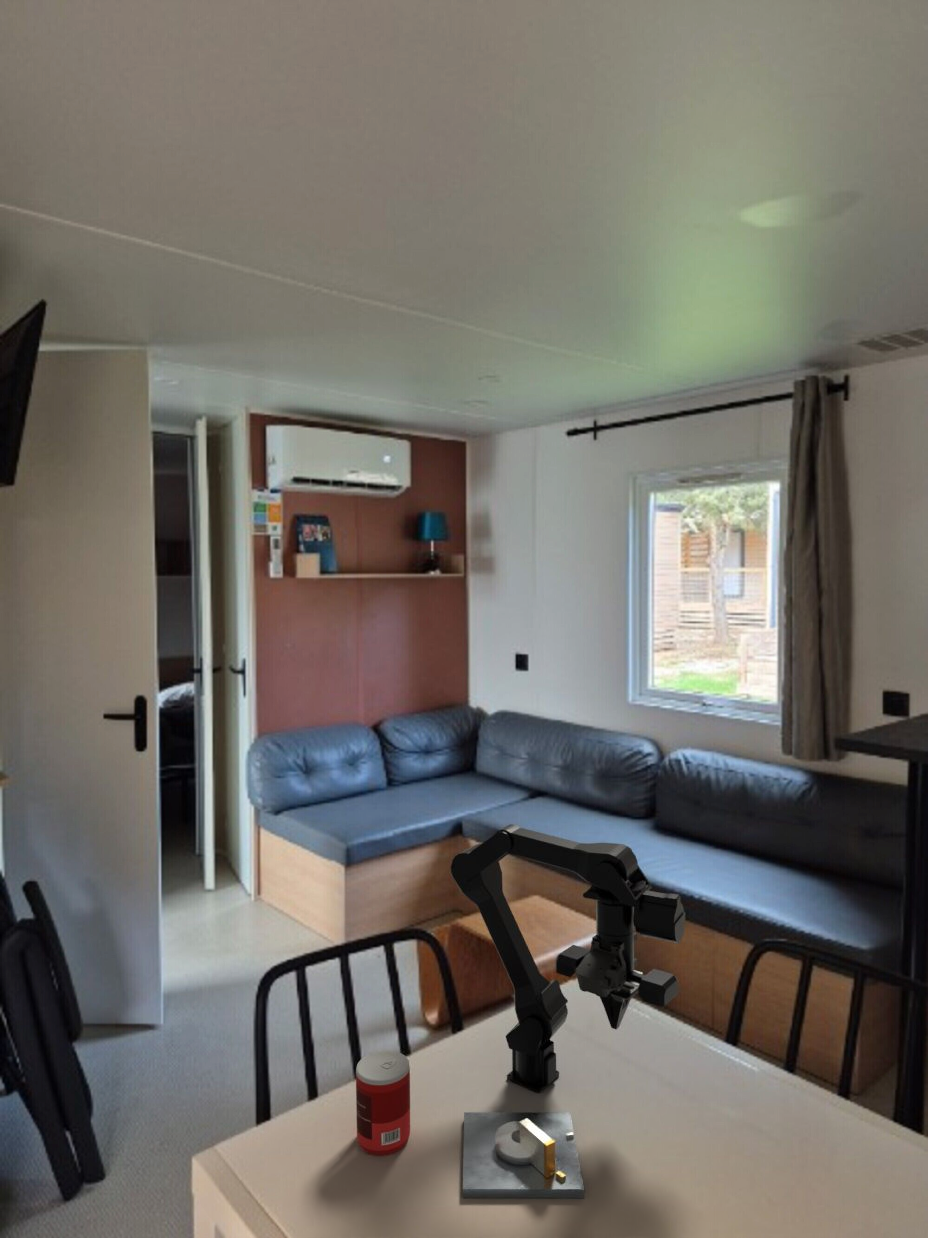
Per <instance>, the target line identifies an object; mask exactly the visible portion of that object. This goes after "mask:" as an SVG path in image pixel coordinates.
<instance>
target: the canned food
mask: <svg viewBox="0 0 928 1238" xmlns="http://www.w3.org/2000/svg"><path fill="white" fill-rule="evenodd" d="M410 1066H411V1065H410V1060H409V1059H408V1057H407V1056H406V1055H405V1054H403V1053H400V1052H398V1051H395V1050H381V1051H375V1052H371V1053H370V1054H367V1055H365V1056H363V1058H361V1059H360V1060H359V1061H358V1063H357V1065H356V1069H355V1096H356V1097H355V1098H356V1099H355V1100H356V1101H355V1102H356V1104H355V1105H356V1106H355V1107H356V1140H357V1142H358V1144H359V1147H360V1148H361V1150H362V1151H364V1152H366V1153H367V1154H370V1155H373V1156H385V1155H387V1156H388V1155H391V1154H393V1153H396V1152H398V1151H399V1150H401V1149H402V1148H404V1146H406V1145H407V1143H408V1140H409V1137H410V1134H411V1072H410V1070H411V1067H410Z"/></svg>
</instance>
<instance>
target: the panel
mask: <svg viewBox="0 0 928 1238" xmlns="http://www.w3.org/2000/svg"><path fill="white" fill-rule="evenodd" d="M526 1118H528V1119H529V1120H530V1121H531V1122H532V1123H533V1124H535V1125H536V1126H537V1127H539V1128H540V1129H541V1130H542V1131H543V1132H544V1133H545V1134H546V1135H547V1136H549V1137H550V1138H551V1139H552V1140H554V1141H555V1174H554V1175H552V1176H550V1177H548V1178H546V1177H545V1176H544V1175H543V1174H542V1173H541V1172H540V1171H539V1170H538V1169H537V1168H536V1167H535V1166H533V1165H532V1164H531V1163H530V1164H525V1165H518V1164H512V1163H509V1162H507V1161H505V1160H503V1159H502V1158H501V1157H500V1156H499V1155H498V1154H497V1152H496V1149H495V1134H496V1132H497V1130H498V1129H499V1128H500V1127H501V1126H502V1125H504V1124H506V1123H509V1122H514V1121H522V1120H524V1119H526ZM575 1138H576V1137H575V1131H574V1126H573V1122H572V1116H571V1112H562V1111H561V1112H558V1111H557V1112H556V1111H555V1112H551V1111H550V1112H540V1111H538V1112H537V1111H536V1112H532V1111H531V1112H526V1111H525V1112H523V1111H522V1112H520V1111H518V1112H517V1111H516V1112H513V1111H512V1112H510V1111H509V1112H507V1111H506V1112H502V1111H501V1112H496V1111H495V1112H494V1111H493V1112H490V1111H489V1112H488V1111H487V1112H485V1111H484V1112H477V1111H476V1112H473V1111H472V1112H469V1111H468V1112H464V1111H463V1150H462V1151H463V1153H462V1154H463V1155H462V1157H463V1160H462V1198H463V1199H585V1185H584V1181H583V1175H582V1171H581V1170H582V1169H581V1166H580V1165H581V1164H580V1160H579V1155H578V1148H577V1144H576V1139H575Z"/></svg>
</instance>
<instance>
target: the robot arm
mask: <svg viewBox="0 0 928 1238" xmlns="http://www.w3.org/2000/svg"><path fill="white" fill-rule="evenodd" d="M509 854H510V855H512V856H513V855H514V856H515V857H520V858H523V859H527V860H531V861H535V862H538V863H541V864H545V865H548V866H553V867H557V868H559V869H563V870H567V871H571V872H573V873H575V874H577V875H578V876H579V877H581V878H582V879H583V880H584V881H585V882H587V883H589V884H590V885H591V886H590V887H589V888H587V890H586V891H584V892H583V893H582V897H583V898H585V899H590V900H595V908H596V909H595V911H596V912H595V915H596V919H595V920H596V921H595V923H596V924H595V926H596V930H595V931H596V932H595V933H596V934H595V935H593V936H592V937H591V938H592V939H591V942H590V943H591V947H590V949H588V948H586V947H582V946H578V945H575V944H572V945H570V946H569V947H568V948H566V949H565V950H563V951H562V952H560V953H558V954H557V956H556V958H555V960H554V967H555V968H554V971H555V973H556V974H559V975H561V976H565V977H569V978H571V977H573V976H574V975H576V979H577V982H578V987H579V989H580V991H581V992H584V993H585V992H587V993H589V994H590V993H591V994H594V995H596V996H597V997H599V998H600V1001H601V1004H602V1005H603V1008H604V1011H605V1014H606V1016H607V1019H608V1022H609V1025H610V1028H611V1029H614V1030H618V1029H619V1028H620V1026H621V1024H622V1021H623V1019H624V1016H625V1014H626V1012H627V1010H628V1007H629V1005H630V1002H631V1000H632V999H633V998H634V996H636V995H637V994H638V996H639V998H640V999H641V1000H642V1002H645V1003H648V1004H650V1005H653V1006H657V1007H665V1006H666V1005H667V1004H669V1002H670V1001H672V1000H673V999H674V998H675V997H676V996H678V995H679V993H680V990H679V989H680V986H679V985H680V982H679V980H678V978H677V976H676V975H675V974H673V973H670V972H666V971H664V970H659V969H656V968H653V969H652V970H650V971H649V972H647V974H643V972H642V971H638V970H637V969H636V970H635V968H637V967H638V964H639V963H638V960H639V959H638V958H636V957H635V951H634V950H635V949H634V948H635V942H636V941H637V940H638V934H639V935H640V936H642V937H645V938H650V939H651V938H652V939H655V940H659V941H664V942H665V941H666V942H669V943H670V942H671V943H675V944H680V943H681V941H682V939H683V937H684V933H685V927H686V912H685V911H684V910H685V909H684V905H683V904H682V902H681V895H680V894H677V893H663V892H657V891H652V890H651V889H652V884H651V882H650V881H649V879H648V878H647V876H646V874H644V872H643V870H642V869H641V867H640V866H639V864H638V859H637V856H636V854H635V853H634V851H633V850H632V848H631V847H630V846H628V845H626V844H624V843H615V842H614V843H613V842H593V843H587V842H586V843H583V842H578V841H574V840H570V839H566V838H563V837H559V836H555V835H550V834H547V833H543V832H539V831H535V830H531V829H527V828H524V827H520V826H519V825H517V824H514V823H513V824H512V823H511V824H510V823H509V824H507V825H505V826H504V827H502V828H499V829H498V830H497V831H496V832H495V833H493V835H492V836H491V837H489V838H488V839H487V840H485V841H484V842H482V843H477V844H474V845H472V846H470V847H469V848H467V849H465V850H463V851H461V852H459V853H458V854H456V855H455V856H454V857H453V859H452V860H451V864H450V866H449V867H450V868H449V869H450V874H451V877H452V878H453V880H454V882H455V883H456V885H457V887H458V888H459V890H460V892H461V893H462V894H463V895H464V896H465V897H466V898H467V899H468V900H470V901H471V902H472V903H473V904H475V905H476V907H477V909H478V911H479V913H480V915H481V918H482V919H483V923H484V924H485V927H486V928H487V931H488V934H489V935H490V938H491V940H492V941H493V944H494V947H495V948H496V951H497V953H498V955H499V957H500V959H501V962H502V965H503V967H504V968H505V971H506V973H507V976H508V977H509V980H510V983H511V984H512V986H513V990H514V992H513V993H514V1012H515V1014H516V1018H517V1021H518V1022H517V1024H515V1025H514V1026H513V1027H512V1029H511V1030H510V1031H508V1033H506V1035H505V1040H506V1043H507V1046H508V1049H509V1050H511V1054H512V1056H511V1062H512V1063H511V1064H512V1065H511V1067H512V1068H511V1069H512V1070H511V1071H510V1072H509V1073H508V1074H506V1079H507V1080H508V1081H510V1082H513V1083H515V1084H518V1085H519V1086H522V1087H524V1088H527V1089H529V1090H531V1091H534V1092H535V1093H541V1092H542V1091H544V1089H546V1087H548V1086H549V1085H550V1084H551V1083H552V1082H553V1081H555V1080H556V1079H557V1078H558V1077H559V1076H560V1071H559V1070H557V1054H556V1052H555V1042H554V1041H553V1040H551V1038H552V1037H553V1036H554V1035H556V1033H557V1032H558V1031H559V1029H560V1028H562V1026H563V1025H564V1024H565V1022H566V1020H567V1017H568V1015H569V1010H568V1006H567V1003H568V1002H569V1000H568V999H567V998H566V996H565V995H564V993H563V992H562V989H561V986H560V983H559V981H558V980H557V979H556V978H555V979H553V980H551V981H549V980H548V979H547V978H546V977H544V975H542V974H541V973H540V971H539V968H538V966H537V964H536V961H535V960H534V958H533V955H532V953H531V951H530V949H529V946H528V944H527V942H526V939H525V938H524V935H523V933H522V932H521V931H522V930H521V928H520V927H519V925H518V922H517V920H516V919H515V918H516V917H515V916H514V914H513V912H512V909H511V907H510V905H509V902H508V901H507V899H506V897H505V894H504V889H503V886H504V885H503V871H502V869H501V864H500V861H502V859H504V858H505V857H507V856H508V855H509ZM628 882H630V883H632V885H630V886H629V885H628V884H627V883H628ZM634 929H635V931H634Z"/></svg>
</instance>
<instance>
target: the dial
mask: <svg viewBox="0 0 928 1238" xmlns="http://www.w3.org/2000/svg"><path fill="white" fill-rule="evenodd" d="M495 1149H496V1152H497V1154H498V1155H499V1156H500V1157H501V1158H502V1159H503V1160H505V1161H507V1162H509V1163H512V1164H518V1165H525V1164H530V1163H531V1164H532V1165H533V1166H535V1167H536V1168H537V1169H538V1170H539V1171H540V1172H541V1173H542V1174H543V1175H544V1176H545V1177H546V1178H548V1177H550V1176H552V1175H554V1174H555V1141H554V1140H552V1139H551V1138H550V1137H549V1136H547V1135H546V1134H545V1133H544V1132H543V1131H542V1130H541V1129H540V1128H539V1127H537V1126H536V1125H535V1124H533V1123H532V1122H531V1121H530V1120H529V1119H528V1118H526V1119H524V1120H522V1121H514V1122H509V1123H506V1124H504V1125H502V1126H501V1127H500V1128H499V1129H498V1130H497V1132H496V1134H495Z"/></svg>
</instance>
